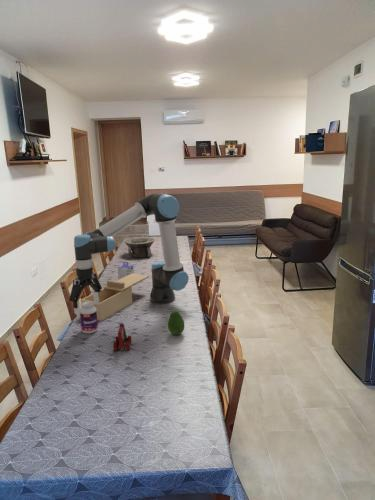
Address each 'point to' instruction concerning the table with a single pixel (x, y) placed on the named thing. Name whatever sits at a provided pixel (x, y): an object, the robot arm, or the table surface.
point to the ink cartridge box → (124, 270)
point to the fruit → (175, 323)
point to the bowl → (139, 246)
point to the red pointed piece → (122, 339)
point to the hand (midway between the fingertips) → (87, 308)
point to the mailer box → (110, 302)
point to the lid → (125, 282)
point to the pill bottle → (88, 318)
